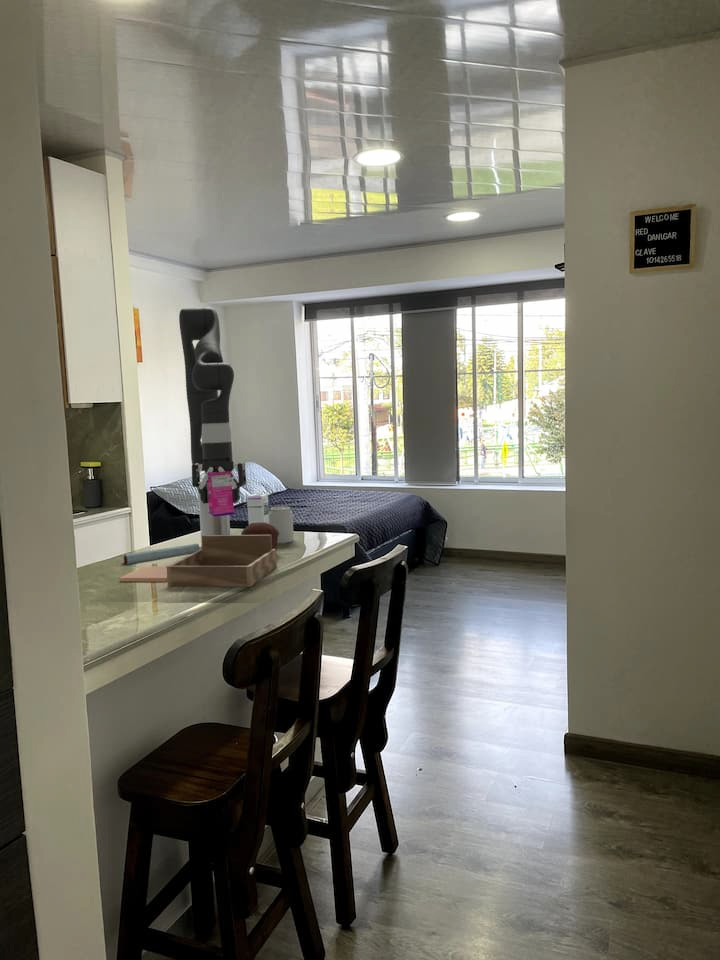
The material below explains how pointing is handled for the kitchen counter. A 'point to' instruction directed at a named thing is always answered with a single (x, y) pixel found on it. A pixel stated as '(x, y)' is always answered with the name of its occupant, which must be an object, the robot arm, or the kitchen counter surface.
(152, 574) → the terracotta tile
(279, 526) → the can
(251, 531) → the muffin
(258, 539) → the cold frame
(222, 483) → the supplement box
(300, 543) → the kitchen counter surface
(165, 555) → the aluminum foil
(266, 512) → the syrup box
